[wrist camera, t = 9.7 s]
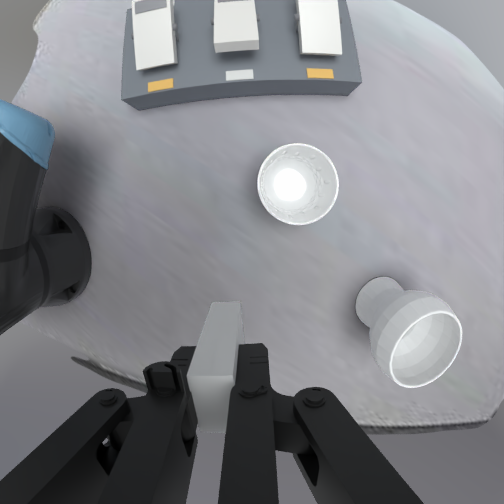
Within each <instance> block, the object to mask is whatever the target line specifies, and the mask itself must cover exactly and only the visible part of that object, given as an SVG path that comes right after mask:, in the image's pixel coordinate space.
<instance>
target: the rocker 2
mask: <svg viewBox="0 0 504 504" xmlns="http://www.w3.org/2000/svg"><path fill="white" fill-rule="evenodd" d="M257 21H260V14H256V10H255V2H254V0H214V18H211V25H214V47H215V52H216V53H219V52H229V51H242V50H259V36H258V27H257Z"/></svg>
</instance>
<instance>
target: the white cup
mask: <svg viewBox="0 0 504 504" xmlns="http://www.w3.org/2000/svg"><path fill="white" fill-rule="evenodd" d="M257 188H258V194H259V197H260V200H261V202H262V204H263V205H264V207H265V208H266V210H267V211H268V212H269V213H270V214H271V215H272V216H274V217H275V218H276V219H278V220H280V221H282V222H284V223H287V224H292V225H306V224H310V223H313V222H315V221H317V220H319V219H321V218H322V217H324V216H325V215H326V214H327V213H328V212H329V211H330V209H331V208H332V207H333V205H334V203H335V201H336V198H337V195H338V190H339V180H338V175H337V171H336V169H335V167H334V165H333V163H332V161H331V160H330V159H329V158H328V156H327V155H326V154H324V153H323V152H322V151H321V150H319V149H317V148H315V147H313V146H311V145H307V144H302V143H293V144H287V145H284V146H281V147H279V148H277V149H276V150H274V151H273V152H272V153H270V154H269V155H268V156H267V158H266V159H265V160H264V162H263V163H262V165H261V167H260V170H259V173H258V179H257Z"/></svg>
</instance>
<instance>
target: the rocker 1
mask: <svg viewBox="0 0 504 504" xmlns="http://www.w3.org/2000/svg"><path fill="white" fill-rule="evenodd" d="M132 19H133V33H132V34H131V37H132V39H133V40H134V48H135V60H136V70H145V69H150V68H155V67H160V66H165V65H171V64H177V63H178V62H177V50H176V38H175V30H178V26H177V23H174V8H173V0H135V1H132Z"/></svg>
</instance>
